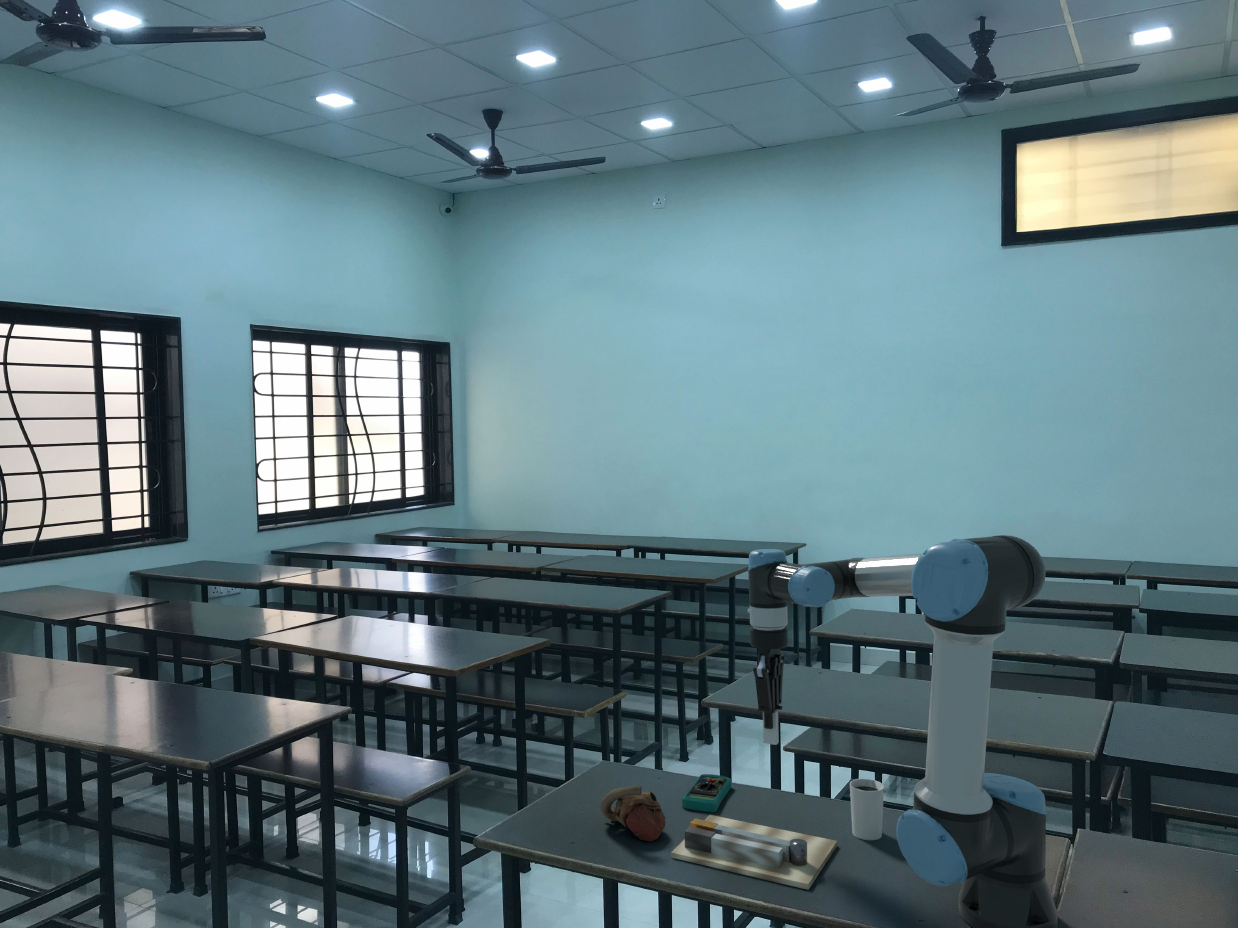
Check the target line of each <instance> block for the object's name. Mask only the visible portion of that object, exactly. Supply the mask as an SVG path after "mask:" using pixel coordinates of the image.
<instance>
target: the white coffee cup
mask: <svg viewBox="0 0 1238 928" xmlns="http://www.w3.org/2000/svg"><path fill="white" fill-rule="evenodd" d="M884 791H885V786H884V784H883V783H881V782H880V781H877V780H875V779H870V778H856V779H853V780H851V781H850V782H849V792H850V793H849V794H850V795H849V796H850V813H851V815H850V816H851V830H852V835H853V836H855V838H858V839H860V840H863V841H875V840H880V839H881V838H882V837H883V821H884V817H883V816H884V815H883V814H884Z"/></svg>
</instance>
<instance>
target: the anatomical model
mask: <svg viewBox="0 0 1238 928" xmlns="http://www.w3.org/2000/svg"><path fill="white" fill-rule="evenodd" d="M642 788H643V787H642V786H640V785H632V786H631V785H630V786H624V787H618V788H615V789H612V790H611V791H609V792H608V793H607V794H606V795H604V797H603V798H602V799H601V802H600V812H601V814H602V816H603V818H606V819H607V820H610V823H613V822H619V823H620V824H621V825H622V826H624V827H625V828H627V829H629V830H630V831H631V832H632V833H633V835H635V836H636V837H637V838H639V840H641V841H645V842H654V841H655V840H657V839H658V838H659V837H660V835H661V834H662V832H663V831H664V830H665V827H666V817H665V815H664V814H665V813H663V811H662V806H661V804H660V803H659V801H658V798H657V796H656V795H655V793H654V792H652V791H649V792H642ZM615 801H616V803H615ZM614 803H615V807H614V809H613V808H612V805H613V804H614Z"/></svg>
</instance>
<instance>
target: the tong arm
mask: <svg viewBox="0 0 1238 928" xmlns="http://www.w3.org/2000/svg"><path fill="white" fill-rule="evenodd" d="M689 827H694V828H698V829H703V830H708V831H712V832H715V834H720V835H725V836H729V837H734V838H738V839H743V840H748V841H752V842H757V843H762V844H766V845H771V846H775V847H780V848H782V858H783V861H787V862H789V861H790V863H792V864H794V865H797V866H802V865H806V864H807V842H806V841H805V840H802V839H792V840H790V841H787V840H783V839H778V838H774V837H770V836H765V835H761V834H757V833H752V832H748V831H744V830H740V829H735V828H731V827H727V826H722V825H718V824H717V823H713V822H709V821H705V819H700V818H693V820H691V821H690V822H689Z"/></svg>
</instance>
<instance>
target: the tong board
mask: <svg viewBox="0 0 1238 928" xmlns="http://www.w3.org/2000/svg"><path fill="white" fill-rule="evenodd" d="M704 820H705V821H709V822H713V823H717V824H718V825H722V826H727V827H731V828H735V829H740V830H744V831H748V832H752V833H757V834H761V835H765V836H770V837H774V838H778V839H783V840H787V841H790V840H792V839H802V840H805V841H806V842H807V864H806V865H802V866H797V865H794V864H792V863H790V861H789V862H787V861H783V858H782V848H780V847H775V846H771V845H766V844H762V843H757V842H752V841H748V840H743V839H738V838H734V837H729V836H725V835H720V834H715V832H712V831H708V830H703V829H698V828H694V827H690V826H688V827H687V828H686V829H685V830H684V839H683V840H682V841H681V842H680V843H679V844H678V845H677V846H676V847H675V848H674V849H673V850H672V851H670V855H671V856H670V858H672V859H677V860H681V861H683V862H684V861H686V862H688V863H693V864H698V865H703V866H707V867H710V868H713V869H718V870H723V871H727V872H731V873H736V874H739V875H740V874H741V875H744V876H749V877H753V878H757V879H761V880H766V881H770V882H774V883H778V884H783V885H787V886H791V887H796V888H800V889H803V890H810V888H811V886H812V885H813V884H814V882H815V880H816V879H817V878H818V876H819V874H820V873H821V871H822V870H823V868H824V867H825V865H826V864H827V862H828V860H829V859H830V858H831V857H832V854H833V852H835V850H836V848H837V847H838V840H834V839H831V838H830V839H829V838H825V837H821V836H815V835H809V834H805V833H800V832H795V831H791V830H787V829H786V830H785V829H781V828H776V827H771V826H766V825H762V824H756V823H752V822H751V823H750V822H747V821H743V820H742V821H741V820H736V819H732V818H727V817H722V816H718V815H713V814H709V815H708V816H707V817H706V818H705V819H704Z"/></svg>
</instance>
